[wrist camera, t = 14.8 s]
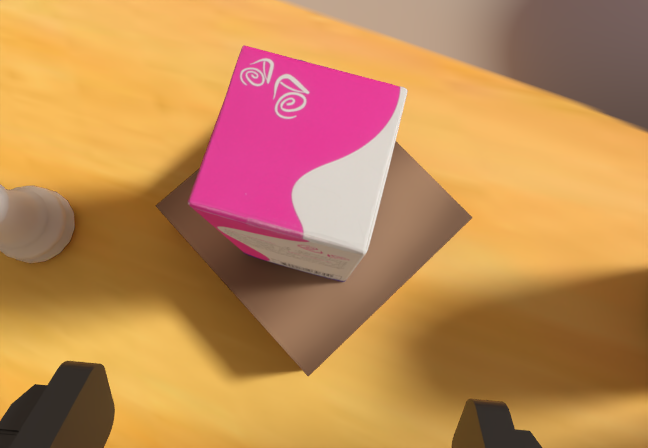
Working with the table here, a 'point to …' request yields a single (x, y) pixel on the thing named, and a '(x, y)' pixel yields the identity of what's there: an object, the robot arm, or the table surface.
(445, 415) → the table surface
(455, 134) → the table surface
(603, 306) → the table surface
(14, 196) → the rook chess piece
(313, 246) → the supplement box
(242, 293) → the walnut block
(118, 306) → the table surface
